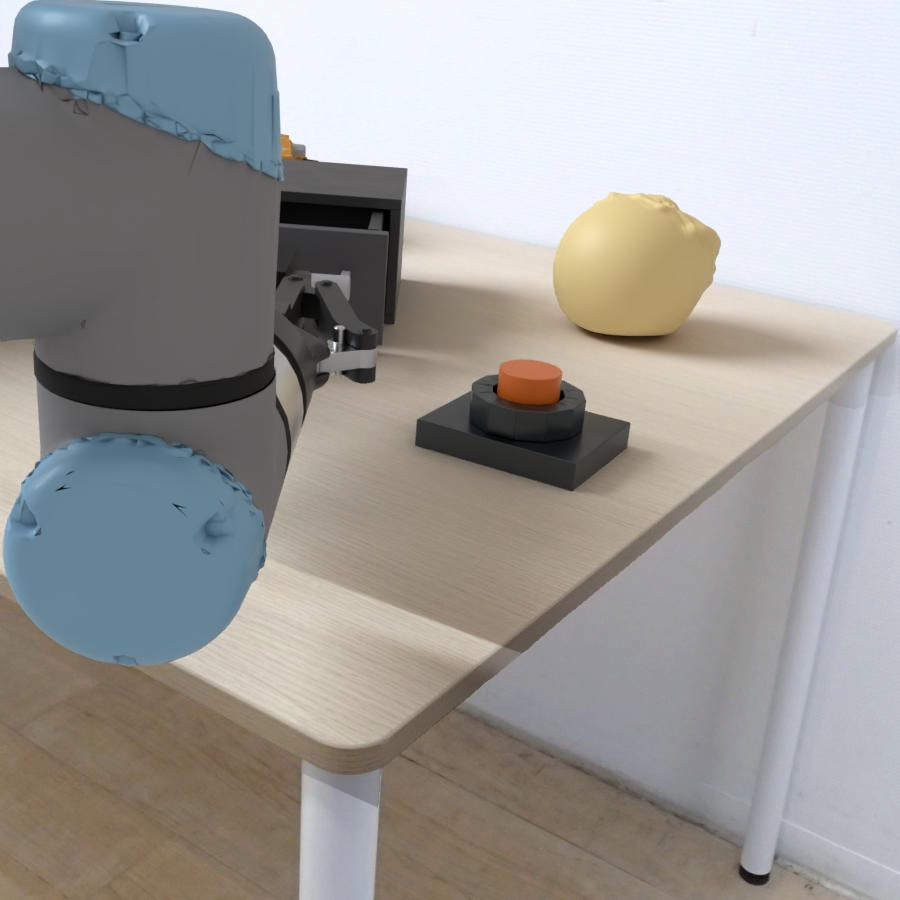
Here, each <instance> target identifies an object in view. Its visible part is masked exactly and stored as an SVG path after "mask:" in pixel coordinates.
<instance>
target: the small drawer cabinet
mask: <svg viewBox="0 0 900 900" xmlns="http://www.w3.org/2000/svg"><path fill="white" fill-rule="evenodd" d="M282 164H283V166H284V168H283V180H284V181H281V199H280V201H281V202H294V203H308V204H321V205H334V206H348V207H361V208H374V209H386V221H385V231H388V232H389V237H388V255H387V272H386V290H385V308H384V325H391V326H392V325H393V326H394V325H395V323H396V316H397V309H398V301H399V295H400V288H401V281H402V269H403V267H402V266H403V250H404V237H405V236H404V235H405V234H404V233H405V219H406V218H405V216H406V205H407V204H406V203H407V187H408V186H407V185H408V170H409V169H408V168H407V167H397V166H383V165H370V164H357V163H345V162H332V161H331V162H330V161H319V160H317V161H306V160H293V159H282Z"/></svg>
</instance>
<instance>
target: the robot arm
mask: <svg viewBox="0 0 900 900" xmlns="http://www.w3.org/2000/svg"><path fill="white" fill-rule="evenodd" d="M7 61H8V63H7V64H8V66H0V342H1V343H2V342H13V341H23V340H32V342H33V351H32V352H33V353H32V356H33V357H32V358H33V374H34V376H35V378H36V379H35V383H36V398H37V416H38V417H37V418H38V431H39V447H40V450H39V451H40V453H39V454H40V455H39V460H38V461H36V462H35V463H34V468H33V469H32V470H31V471H30V472H29V473H28V474H27V475H26V476H25V479H24V480H23V481H22V482H20V492H19V494H18V496H17V498H16V499H15V502H14V504H13V506H12V508H11V511H10V513H9V515H8V517H7V519H6V523H5V528H4V531H3V540H2V560H3V568H4V572H5V576H6V579H7V581H8V583H9V587H10V589H11V591H12V593H13V596H14V597H15V600H16V601H17V603H18V604H19V606H20V608H21V609H22V610H23V612H24V613H25V614H26V616H27V617H28V618H29V619H30V620H31V621H32V622H33V624H34V625H35V626H37V628H38V629H39V630H40V631H42V632H43V634H45V635H46V636H48V637H49V638H50V639H52V640H53V641H54V642H56V643H57V644H59V645H61V646H62V647H64V648H65V649H67V650H69V651H71V652H73V653H75V654H77V655H79V656H81V657H84V658H87V659H90V660H94V661H97V662H103V663H106V664H114V665H122V666H124V667H125V666H126V667H136V666H137V667H142V666H143V667H145V666H148V667H149V666H157V665H163V664H166V663H171V662H175V661H177V660H179V659H183V658H185V657H188V656H190V655H192V654H195V653H196V652H198V651H200V650H202V649H203V648H205V647H206V646H207V645H209V644H210V643H212V642H213V641H214V640H215V639H217V638H218V637H219V636H220V635H221V634H222V633H223V632H224V631H226V629H227V627H229V626H230V624H231V623H232V621H234V618H235V617H236V616H237V614H238V612H239V611H240V610H241V607H242V605H243V603H244V600H245V598H246V596H247V594H248V593H249V590H250V588H251V585H252V584H253V583H254V582H255V581H257V579H258V577H259V572H260V570H261V569H263V568H264V567H265V563H266V559H267V556H268V555H267V554H268V553H267V540H268V536H269V533H270V529H271V527H272V523H273V519H274V518H275V512H276V509H277V507H278V503H279V500H280V496H281V493H282V489H283V486H284V483H285V479H286V476H287V472H288V469H289V467H290V463H291V460H292V457H293V455H294V452H295V449H296V446H297V443H298V440H299V437H300V434H301V431H302V428H303V425H304V422H305V419H306V416H307V413H308V411H309V407H310V404H311V400H312V397H313V394H314V391H317V390H318V389H321V388H322V387H324V386H325V385H326V384H327V383H328V381H329V379H330V376H331V375H332V376H334V377H343V376H344V377H345V378H346V379H348V380H351V381H352V382H354V383H357V384H360V385H366V384H367V385H368V384H372V383H374V382H376V376H377V375H376V374H377V359H378V345H377V339H378V331H377V330H376V329H374V328H372V327H370V326H368V325H367V324H365V323H363V322H361V321H359V320H358V318H357V316H356V315H355V313H354V311H353V309H352V308H351V306H350V304H349V303H348V301H347V299H346V298H345V296H344V294H343V292H342V291H341V289H340V287H339V286H338V284H337V283H335V282H333V281H330V280H322V281H317V282H315V288H314V287H311V280H312V273H311V272H310V271H300V270H299V246H291V245H278V237H279V218H280V199H281V181H284V180H283V168H284V166H283V164H282V154H281V134H282V130H281V128H282V127H281V102H280V91H279V88H278V76H277V75H278V74H277V59H276V53H275V51H274V48H273V44H272V42H271V40H270V39H269V37H268V35H267V33H266V32H265V31H264V29H263V28H262V27H261V26H259V25H258V24H257V23H256V22H255V21H254V20H252V19H250V18H249V17H247V16H245V15H242V14H240V13H236V12H232V11H227V10H222V9H213V8H205V7H198V6H189V5H187V6H186V5H179V4H178V5H176V4H166V3H165V4H164V3H155V2H154V3H153V2H138V1H137V2H136V1H123V0H32V1H29V2H27V3H26V4H25V5H23V6H22V7H20V9H19V11H18V12H17V14H16V16H15V18H14V23H13V27H12V38H11V49H10V51H9V52H8V53H7ZM304 318H309V319H314V328H315V330H316V333H317V335H318V337H319V338H317V337H315V336H313V335H311V334H310V333H308V332H306V331H304Z"/></svg>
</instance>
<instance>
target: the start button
mask: <svg viewBox="0 0 900 900" xmlns="http://www.w3.org/2000/svg"><path fill="white" fill-rule="evenodd" d="M498 374H499V378H498V389H497V395H498V396H500V397H501V398H503V399H505V400H509V401H513V402H516V403H520V404H535V405H544V404H551V403H558V402H559V398H560V390H561V381H562V380H563V371H562V369H561V368H560V367H559V366H557V365H554V364H552V363H549V362H547V361H541V360H536V359H525V358H521V359H519V358H518V359H510V360H506V361H504V362H502V363H501V364H499V368H498Z"/></svg>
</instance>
